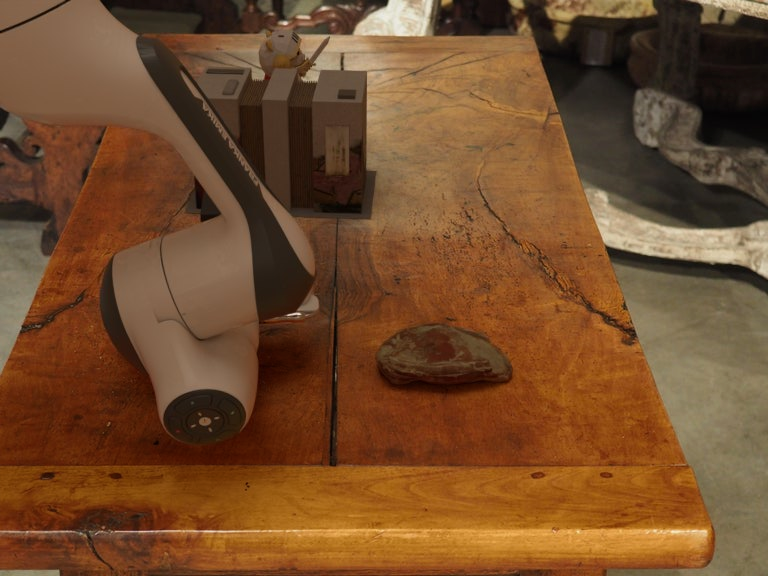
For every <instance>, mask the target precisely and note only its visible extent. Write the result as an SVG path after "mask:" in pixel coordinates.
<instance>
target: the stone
mask: <svg viewBox="0 0 768 576" xmlns="http://www.w3.org/2000/svg"><path fill="white" fill-rule="evenodd" d="M375 362H376V364H377V368H378V370H379V372H381V373H382V374H383V376H384V377H385V378H386V379H388V380H389V381H390V383H391V384H395V385H401V386H402V385H404V384H409V383H412V382H414V381H415V382H418V381H422V382H426V383H428V384H433V385H434V384H435V385H446V386H447V385H451V386H453V385H458V384H464V383H473V382H475V383H476V382H478V381H489V382H495V383H497V382H498V383H501V382H508V381H510V379H511V377H512V375H513V370H514V369H513V365H512V363H511V361H510V359H509V357H508V356H507V354H506V353H505V354H504V353H503V352H502V351H501V349H500V348H498V347H497V346H496V345H494V344H492V343H491V340H490V338H489V337H487V336H486V334H484V333H483V332H480V331H477V330H472V329H469V328H466V327H463V326H462V327H461V326H455V325H450V324H448V323H446V322H440V321H437V322H426V323H421V324H416V325H413V326H410V327H405V328H404V329H401V330H400V331H398V332H397V333H395V334H393V335H392V336H390V337H389V338H387V339H386V340H385V341H384V342H382V343H381V345H380V347H379V348H378V349H377V351H376V353H375Z"/></svg>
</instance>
